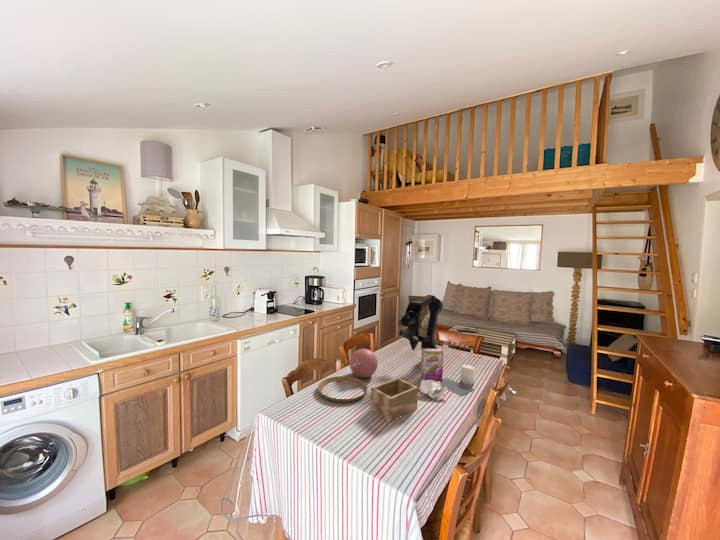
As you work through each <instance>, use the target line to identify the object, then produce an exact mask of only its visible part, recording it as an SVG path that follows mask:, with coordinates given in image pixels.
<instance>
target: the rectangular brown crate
mask: <svg viewBox="0 0 720 540" xmlns="http://www.w3.org/2000/svg"><path fill="white" fill-rule="evenodd" d="M418 393H419V386H417V385H414V384H412V383H410V382H408V381H406V380H404V379H401V378H400V377H397V378H394V379H392V380H388V381H385V382H384V383H380V384H378V385H375V386H373V387H371V389H370V410H371V409H373V410H374V411H376V412H377V413H379V414H380V415H382V416H383V417H385V418H386V419H388V420H389V421H391V420H393V419H396V418H398V417H400V416H402V417H403V416H404V415H407V414H408V413H410V412H413V411H414V410H417V409H418V396H419V394H418ZM374 411H373V412H374ZM377 413H376V414H377ZM380 415H379V416H380ZM383 417H382V418H383ZM400 418H401V417H400ZM386 419H385V420H386ZM398 419H399V418H398ZM396 420H397V419H396ZM389 421H388V422H389Z"/></svg>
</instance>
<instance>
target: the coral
mask: <svg viewBox="0 0 720 540" xmlns="http://www.w3.org/2000/svg"><path fill="white" fill-rule="evenodd" d="M440 385H441V383H440V381H439V382H437V381H433V380H422V379H421V382H420V386H418V390H419V391H420V393H423V394H426V395H428V396H429V397H430V398H431V399H435V401H438V402H439V401H440V400H441V398H442V397H444V398H445V397H447V392H446V391H448V390H447V387H445V388H443V387H441V386H440ZM444 392H445V393H444Z"/></svg>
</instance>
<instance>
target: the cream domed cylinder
mask: <svg viewBox="0 0 720 540" xmlns="http://www.w3.org/2000/svg"><path fill="white" fill-rule="evenodd" d="M475 370H476V367H474V366H472V365H470V364H462V365H461V366H460V377H459V378H460V379H459V381H460V382H461V384H462V383H463V384H464V385H474V384H475Z"/></svg>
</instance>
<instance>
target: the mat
mask: <svg viewBox="0 0 720 540" xmlns="http://www.w3.org/2000/svg"><path fill="white" fill-rule="evenodd" d="M436 382H439V381H436ZM440 383H441V385H440V386H439V387H440V388H445V387H447V391H450V392H451V393H453V394H455V395H457V396H458V397H463V396H465V395H468V394H469V393H471V392H472V391H475V389H474V388H472V387H470V386H467V385H466V384H462V383H459V382H457V381H455V380H452V379H450V378H448V377H445V378H444V377H443V378H442V381H440Z"/></svg>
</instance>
